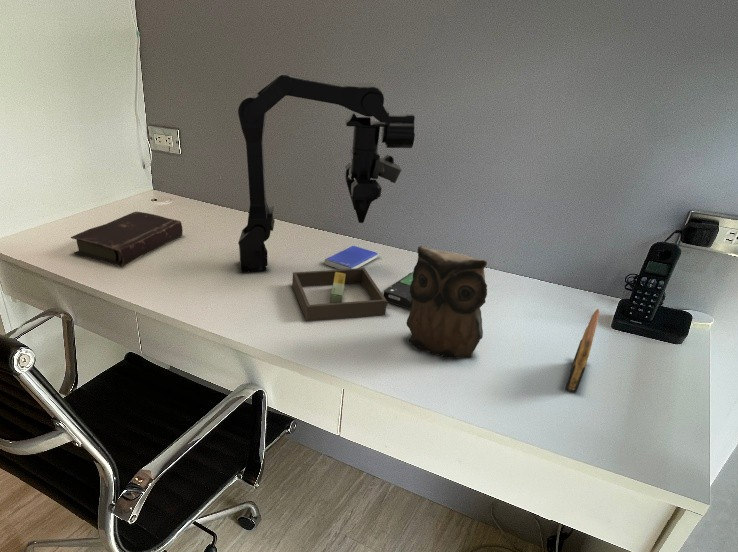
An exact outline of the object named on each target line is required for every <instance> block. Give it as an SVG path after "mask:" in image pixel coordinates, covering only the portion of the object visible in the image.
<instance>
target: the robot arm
mask: <svg viewBox="0 0 738 552" xmlns="http://www.w3.org/2000/svg"><path fill="white" fill-rule="evenodd" d="M285 97H292V98H293V97H294V98H299V99H305V100H310V101H316V102H321V103H327V104H333V105H338V106H341V107H342V108H343V107H344V108H345V109H347V110H349V111H351V112H352V114H351V115H350V117H348V118H346V119H345V125H346V127H353V131H352V132H353V133H352V144H351V145H352V146H351V149H350V156H351V158H350V162H348V163H347V164H346V165H345V166H344V179H345V183H346V186H347V188H348V193H349V197H350V200H351V203H352V207H353V210H354V211H355V214H356V217H357V218H356V219H357V221H358V223H359V224H364V222H365V219H366V218H367V214H368V211H369V209H370V206H371V204H372V203H373V202H374V201H375V200H378V199H379V198H381V196H382V189H383V188H382V187H381V184H380V182H378V180H379V177H380V178H382V179H384V180H388V181H389V182H390V183H392V184H396V183H397V180H398V179H399V176H400V174H401V172H402V168H401V167H400V165H399V164H397V163H395V158H394V157H393V156H392V155H389V154H386V155H385V156H384V157H381V156H380V154H379V153H378V152H379V151H378V149H379V140H380V142H381V143H382V144H384V145H385V149H412V148H413V147H414V143H415V137H416V136H415V135H416V132H415V118H416V117H415V115H414V114H413V113H407V114H390V112H389V109H387V108H385V106H384V104H385V97H384V93H383V92H382V91H381V89H380V87H379V86H378V85H377V84H375V83H374V82H352V83H338V82H333V81H327V80H321V79H315V78H310V77H304V76H299V75H294V74H290V73H289V72H281V73H279V74H278V75H277V77H276V78H275V79H273V80H272V81H271V82H270V83H268V84H267V85H265V87H263V88H262V89H260V90H259V91H258V92H257V93H256V92H252V93H249V94H247V95H245V96H244V98H243V99H242V101H241V102H240V104H238V105H239V106H238V109H237V115H238V119H239V124H240V128H241V131H242V135H243V137H244V140H245V146H246V147H245V149H246V162H247V176H248V191H249V192H248V193H249V209H248V215H247V216H248V217H247V225H245V227H243V228H242V230H241V233H240V235H239V239H238V242H237V244H238V252H239V253H238V255H239V257H238V258H239V261H238V266H239V270H240V273H242V274H244V273H257V272H258V273H260V272H267V271H268V269H267V267H268V249H267V247H266V245H265V242H266V241H267V240H268V239H269V238H270V237H271V232H273V231H274V227H275V222H276V221H275V217H274V208H275V207H274V205H271V206H269V204H268V201H267V193H266V173H265V155H264V154H265V153H264V152H265V151H264V133H265V126H266V118H267V112H268V111H270V110H271V109H272V108H274V106H276V105H277V104H279V102H280V101H282V100H283V99H284V98H285ZM356 113H357V114H359V115H361V116H357V114H356ZM372 117H374V119H376V120H377V121H376V120H372V119H371V118H372ZM380 131H381V133H380ZM380 134H381V137H380Z"/></svg>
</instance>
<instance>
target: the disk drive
mask: <svg viewBox="0 0 738 552" xmlns="http://www.w3.org/2000/svg"><path fill="white" fill-rule="evenodd" d="M412 281H413V271H412V272H410V273H408V274H407V275H405V276H403V277H402V278H400V279H399V280H397V281H396V282H394V283H393V284H392V285H390V286H388V287H387V288H385V289H384V290H383V296H384V297H385V299H386V300H387V303H390V304H393V305H395V306H396V305H397V306H400V307H402V308H405V309H408V310H410V308H411V306H412V298H411V294H410V286H411V282H412Z"/></svg>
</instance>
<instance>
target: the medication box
mask: <svg viewBox="0 0 738 552" xmlns="http://www.w3.org/2000/svg"><path fill="white" fill-rule="evenodd" d="M345 276H346V274H344V273H339V272H335V275H334V280H333V285H331V291H330V297H329V302H328V303H341V302H342V301H343V297H344V296H343V295H344V291H345V284H344V283H345Z"/></svg>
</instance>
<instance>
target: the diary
mask: <svg viewBox="0 0 738 552" xmlns="http://www.w3.org/2000/svg"><path fill="white" fill-rule="evenodd" d="M183 231H184V230H183V224H182V221H181V220H177V219H173V218H169V217H165V216H161V215H157V214H153V213H148V212H142V211H133V212H131V213H128V214H126V215H124V216H121V217H119V218H116V219H114V220H112V221H109V222H107V223H105V224H101V225H98V226H96V227H91V228H88V229H86V230H84V231H82V232H79V233H77V234H74V235H72V236H70V239H72V240H76V244H77V250H76V251H74V252H73V254H74V255H78V256H81V257H84V258H89V259H92V260H95V261H96V260H97V261H99V262H103V263H106V264H111V265H114V266H118V267H124V266H126V265H127V264H129V263H131V262H133V261H135V260H137V259H138V258H140V257H142V256H144V255H147V254H149V253H151V252H153V251H155V250H157V249H159V248H161V247H162V246H164V245H166V244H168V243H170V242H172V241H174V240H177V239H178V238H181V237H182V236H183Z"/></svg>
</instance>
